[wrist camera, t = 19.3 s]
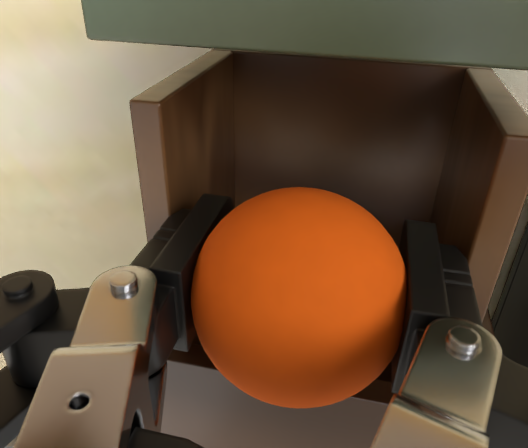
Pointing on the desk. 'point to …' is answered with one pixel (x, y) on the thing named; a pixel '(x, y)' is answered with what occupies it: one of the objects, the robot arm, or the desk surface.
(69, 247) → the desk surface
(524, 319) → the box
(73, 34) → the desk surface
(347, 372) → the ball
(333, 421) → the cabinet
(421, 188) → the drawer
